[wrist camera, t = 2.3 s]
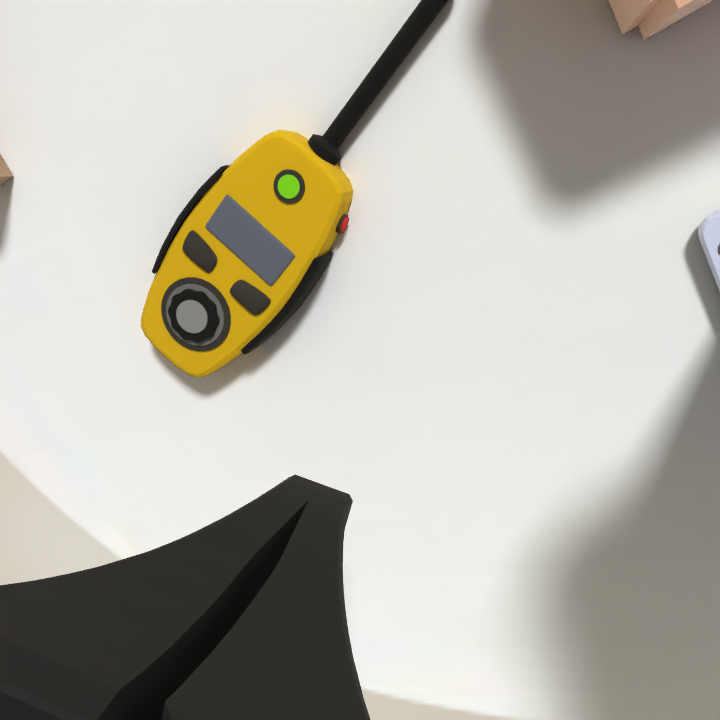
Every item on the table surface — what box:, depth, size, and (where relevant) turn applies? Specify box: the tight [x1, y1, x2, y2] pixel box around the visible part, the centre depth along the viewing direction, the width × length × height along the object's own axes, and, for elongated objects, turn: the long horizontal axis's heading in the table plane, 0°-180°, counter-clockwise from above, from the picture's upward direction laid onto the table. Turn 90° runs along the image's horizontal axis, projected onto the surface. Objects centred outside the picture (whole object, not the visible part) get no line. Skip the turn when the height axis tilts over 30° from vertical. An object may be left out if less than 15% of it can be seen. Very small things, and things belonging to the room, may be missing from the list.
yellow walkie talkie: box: [141, 0, 448, 378], centre depth 19 cm, size 5×2×15 cm
